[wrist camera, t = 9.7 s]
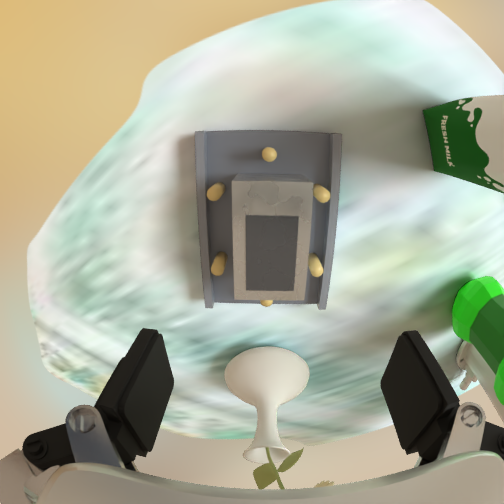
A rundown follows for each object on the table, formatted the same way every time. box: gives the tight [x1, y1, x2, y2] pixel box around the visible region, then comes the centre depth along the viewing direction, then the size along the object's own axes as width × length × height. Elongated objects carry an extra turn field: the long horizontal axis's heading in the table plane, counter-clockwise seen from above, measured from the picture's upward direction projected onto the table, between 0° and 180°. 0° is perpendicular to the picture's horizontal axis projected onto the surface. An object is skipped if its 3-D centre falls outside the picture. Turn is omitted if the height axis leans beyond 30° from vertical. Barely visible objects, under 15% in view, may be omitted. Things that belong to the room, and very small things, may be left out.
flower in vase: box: [224, 346, 334, 489], centre depth 23 cm, size 13×11×25 cm
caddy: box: [195, 130, 342, 310], centre depth 25 cm, size 18×13×4 cm
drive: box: [232, 174, 313, 300], centre depth 24 cm, size 10×6×6 cm, turn 0°
